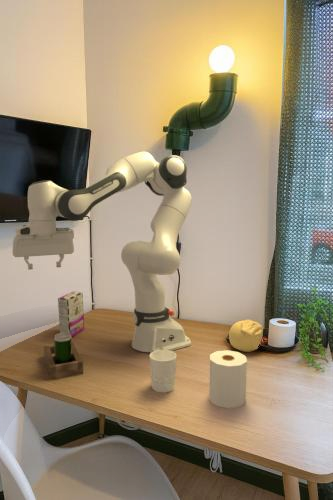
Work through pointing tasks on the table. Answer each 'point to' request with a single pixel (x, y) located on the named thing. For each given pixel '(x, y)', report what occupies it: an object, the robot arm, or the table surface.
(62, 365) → the shelf
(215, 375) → the toilet paper
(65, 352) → the beer can
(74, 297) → the candy bar box
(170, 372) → the white cup
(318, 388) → the table surface
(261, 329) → the sculpture
